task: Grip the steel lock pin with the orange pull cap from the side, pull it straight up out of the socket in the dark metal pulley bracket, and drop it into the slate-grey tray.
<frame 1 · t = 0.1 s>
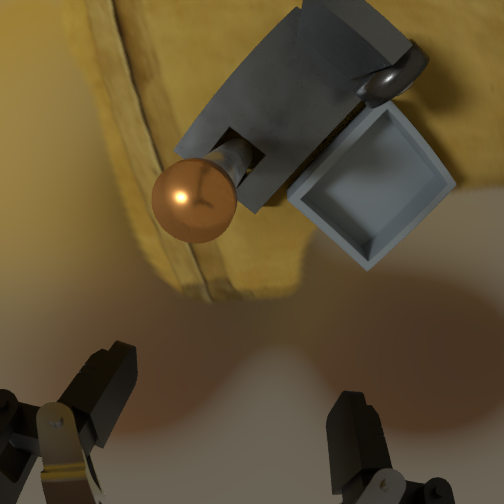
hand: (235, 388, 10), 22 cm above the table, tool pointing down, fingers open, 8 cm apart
lock pin: (236, 154, 28), resting in pulley bracket
pulley bracket: (276, 107, 25), on the table
tray: (369, 179, 27), on the table
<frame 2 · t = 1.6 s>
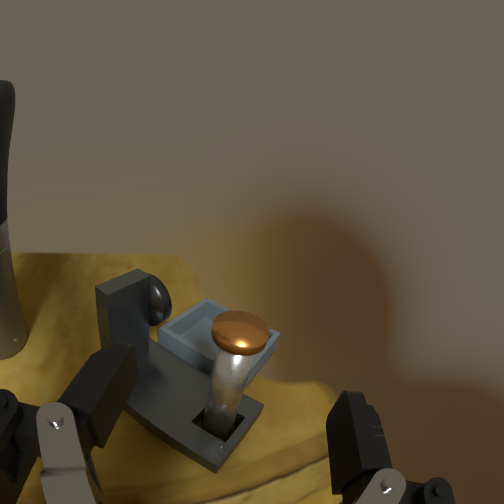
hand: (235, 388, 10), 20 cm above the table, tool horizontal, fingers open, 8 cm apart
lock pin: (216, 429, 28), resting in pulley bracket
pulley bracket: (172, 401, 30), on the table
tray: (218, 351, 40), on the table
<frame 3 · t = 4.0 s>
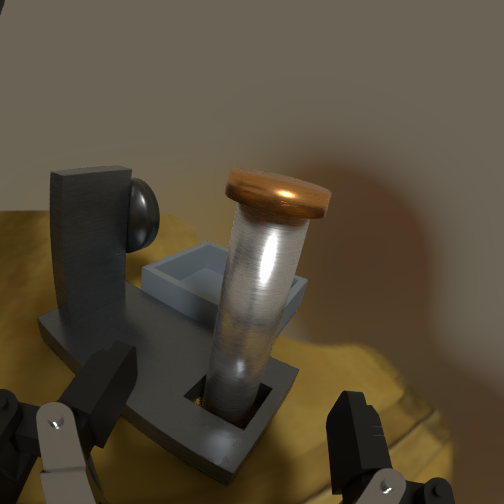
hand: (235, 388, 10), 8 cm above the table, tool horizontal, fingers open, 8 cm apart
lock pin: (225, 411, 18), resting in pulley bracket
pulley bracket: (156, 369, 20), on the table
tray: (223, 305, 30), on the table
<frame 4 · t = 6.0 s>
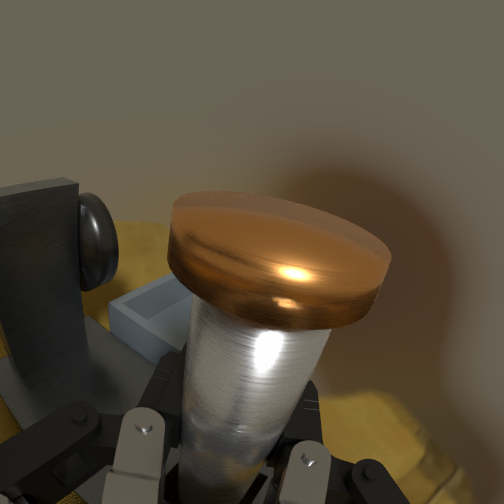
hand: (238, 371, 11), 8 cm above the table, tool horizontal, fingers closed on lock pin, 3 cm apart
lock pin: (207, 497, 11), resting in pulley bracket, touching gripper
pulley bracket: (123, 439, 13), on the table
tray: (211, 346, 24), on the table
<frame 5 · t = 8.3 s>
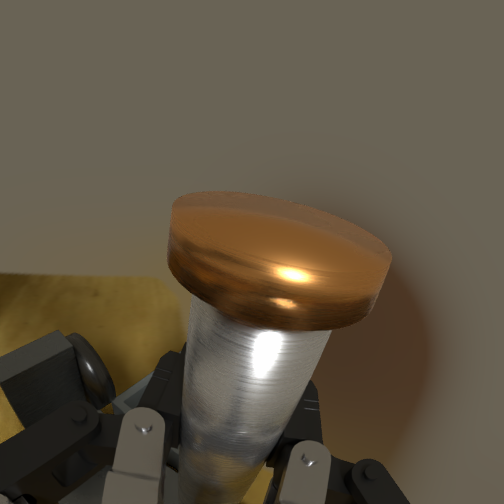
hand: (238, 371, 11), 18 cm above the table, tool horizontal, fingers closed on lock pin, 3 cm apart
lock pin: (207, 497, 11), point 10 cm above the table, touching gripper
tray: (199, 427, 25), on the table
when the fingers open (10 cm above the table, at t = 10.9 s): lock pin drops 1 cm, resting on tray.
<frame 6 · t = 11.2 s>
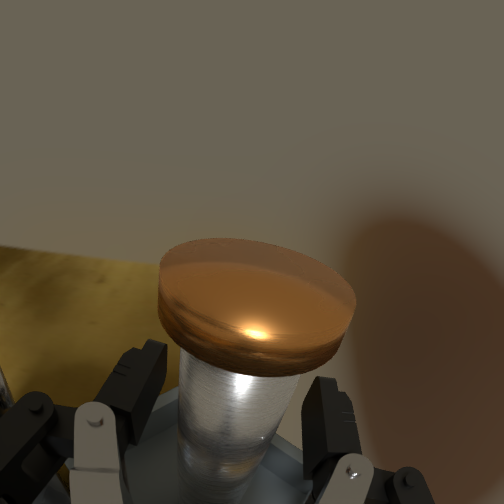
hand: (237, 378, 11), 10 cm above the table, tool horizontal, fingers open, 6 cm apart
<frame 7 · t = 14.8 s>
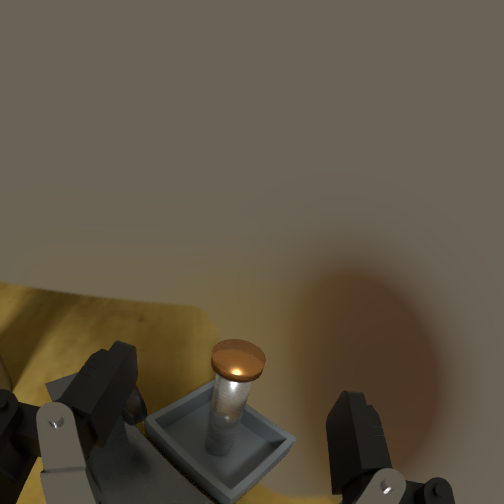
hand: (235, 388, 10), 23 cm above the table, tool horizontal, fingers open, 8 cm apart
lock pin: (218, 445, 28), point 1 cm above the table, touching tray
pulley bracket: (146, 503, 19), on the table
tray: (217, 447, 28), on the table
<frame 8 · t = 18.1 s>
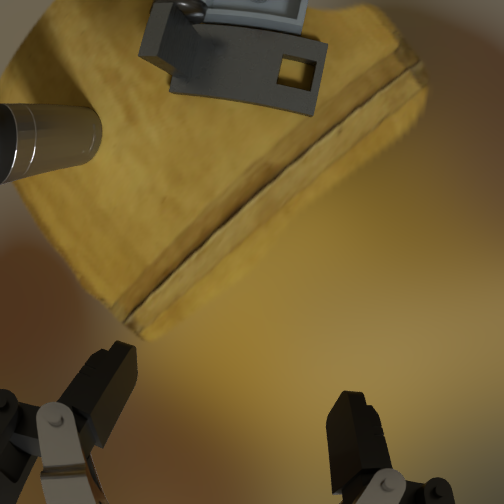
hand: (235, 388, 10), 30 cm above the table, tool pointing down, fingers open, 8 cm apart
pulley bracket: (248, 66, 32), on the table
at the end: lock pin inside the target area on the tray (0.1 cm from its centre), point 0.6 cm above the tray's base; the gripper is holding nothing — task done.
